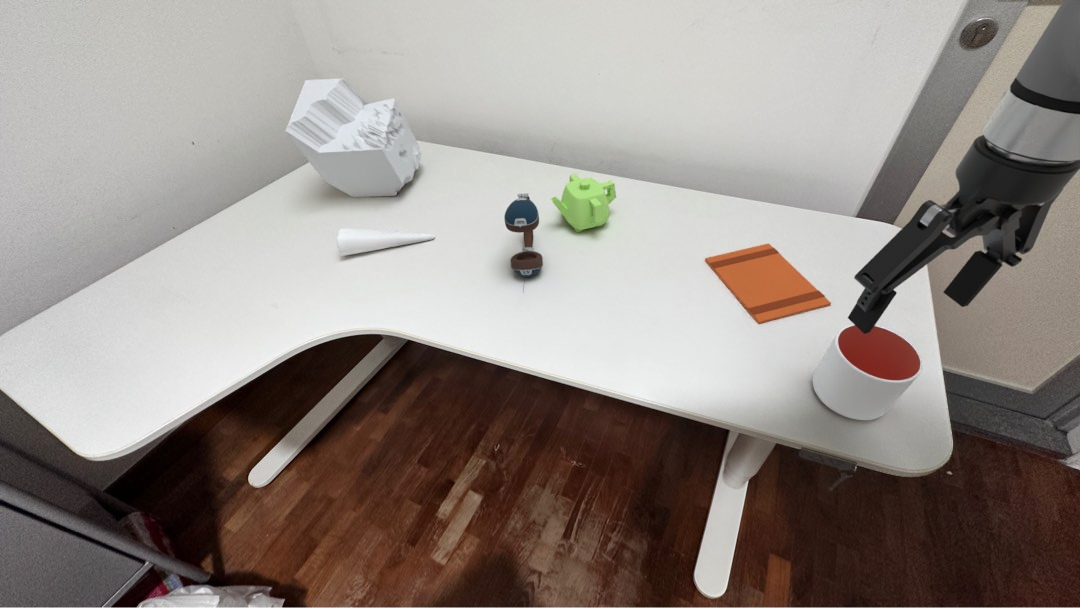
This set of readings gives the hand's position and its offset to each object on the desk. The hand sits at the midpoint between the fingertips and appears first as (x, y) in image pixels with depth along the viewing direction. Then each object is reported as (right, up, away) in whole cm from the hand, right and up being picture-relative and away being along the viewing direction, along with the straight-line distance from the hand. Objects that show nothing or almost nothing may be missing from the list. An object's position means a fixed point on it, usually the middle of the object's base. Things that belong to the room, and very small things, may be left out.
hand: (907, 312), depth 55 cm
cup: (+1, -12, +12) cm, 18 cm away
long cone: (-77, +13, +45) cm, 90 cm away
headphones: (-47, +8, +37) cm, 60 cm away
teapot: (-35, +19, +47) cm, 62 cm away
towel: (-3, +5, +30) cm, 31 cm away
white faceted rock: (-86, +31, +63) cm, 111 cm away
